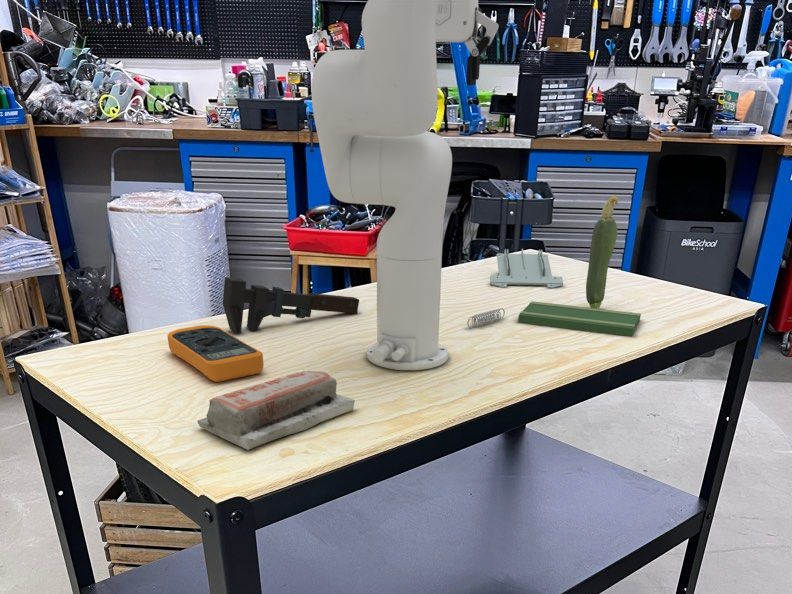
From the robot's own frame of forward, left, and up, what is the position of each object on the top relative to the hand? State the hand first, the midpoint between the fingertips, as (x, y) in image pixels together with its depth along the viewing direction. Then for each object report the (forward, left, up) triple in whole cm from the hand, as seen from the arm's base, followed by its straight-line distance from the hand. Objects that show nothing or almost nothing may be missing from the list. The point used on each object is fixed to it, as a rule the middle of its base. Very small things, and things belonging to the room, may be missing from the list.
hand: (443, 84), depth 130 cm
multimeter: (-44, +20, -36) cm, 61 cm away
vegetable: (+11, -28, -36) cm, 47 cm away
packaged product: (-60, 0, -36) cm, 70 cm away
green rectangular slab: (+1, -27, -36) cm, 45 cm away
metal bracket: (+28, -10, -36) cm, 47 cm away
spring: (-7, -12, -36) cm, 39 cm away
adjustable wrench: (-20, +19, -36) cm, 46 cm away
